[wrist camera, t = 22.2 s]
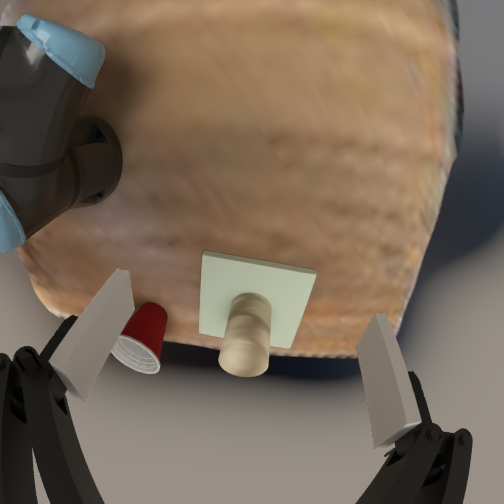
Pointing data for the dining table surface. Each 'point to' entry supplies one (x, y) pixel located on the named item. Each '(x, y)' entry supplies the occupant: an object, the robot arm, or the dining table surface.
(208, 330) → the board
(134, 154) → the dining table surface
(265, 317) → the birch roller
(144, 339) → the plastic cup
